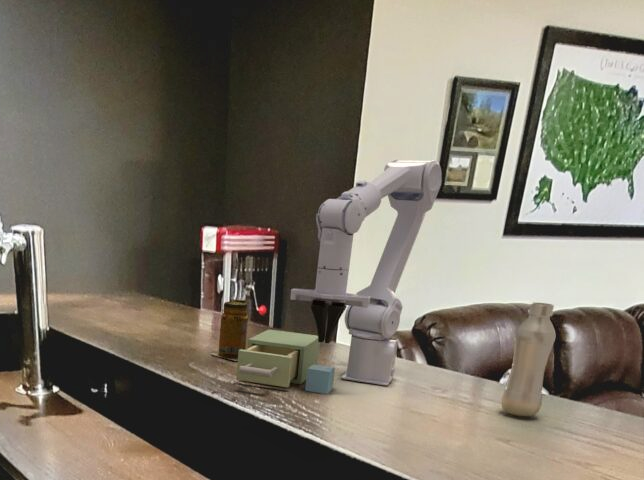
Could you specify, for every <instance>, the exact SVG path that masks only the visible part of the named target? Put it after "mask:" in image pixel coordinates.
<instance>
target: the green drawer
mask: <svg viewBox="0 0 644 480" xmlns="http://www.w3.org/2000/svg"><path fill="white" fill-rule="evenodd" d="M299 359H300V350H297V349H289V348H282V347H275V346H267V345H260V344H256V345H254V346H252V347H250V348H248V347H247V349H246V348H245V350H242V349H240V350H239V352H238V361H237V367H236V378H235V379H236V380H237V381H242V382H248V383H255V384H261V385H269V386H276V387H282V388H289V387H290V386H291V385H290V384H291V383H290V381H291V380H292V379H293V378H295V377H296V376H297V375H298V368H299Z"/></svg>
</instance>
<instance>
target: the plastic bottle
mask: <svg viewBox="0 0 644 480" xmlns="http://www.w3.org/2000/svg"><path fill="white" fill-rule="evenodd" d="M554 308H555V304H552V303H546V302H535V301H534V302H530V303H529V309H528V310H527V314H528V316H527V318H525V319H524V320H523V321H522V322H521V323H520V324H519V325H518V326H517V328H516V329H515V331H514V339H513V340H514V341H513V356H512V364H511V369H510V373H509V375H508V380H507V383H506V387H505V389H504V390H503V393H502V395H501V403H500V405H501V408H502V410H503V412H505V413H507V414H510V415H513V416H516V417H534V416H536V415H537V414H538V413H539V412H540V410H541V407H542V404H543V385H544V377H545V371H546V367H547V365H548V360H549V357H550V355H551V352H552V349H553V347H554V343H555V341H556V335H557V334H556V330H555V327H554V325H553V323H552V321H551V317H552V316H553V315H554V314H553V311H554Z"/></svg>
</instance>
